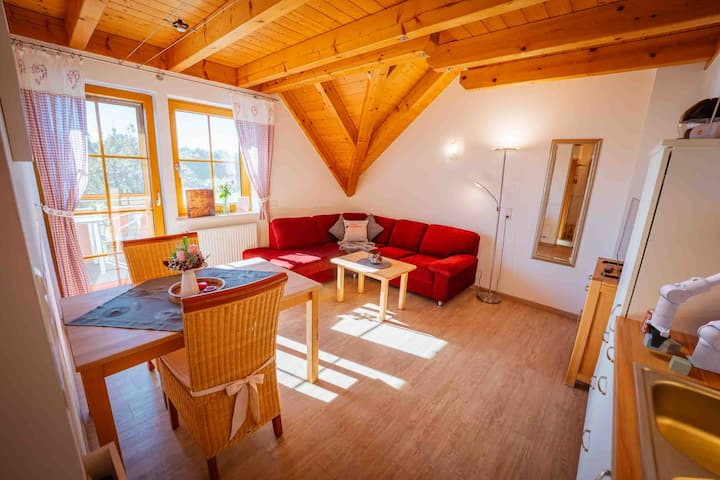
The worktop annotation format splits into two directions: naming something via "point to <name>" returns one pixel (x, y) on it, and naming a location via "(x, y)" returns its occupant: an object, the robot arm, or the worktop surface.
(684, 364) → the olive block
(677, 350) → the walnut block
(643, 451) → the worktop surface
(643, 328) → the soda can
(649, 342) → the slate blue block
